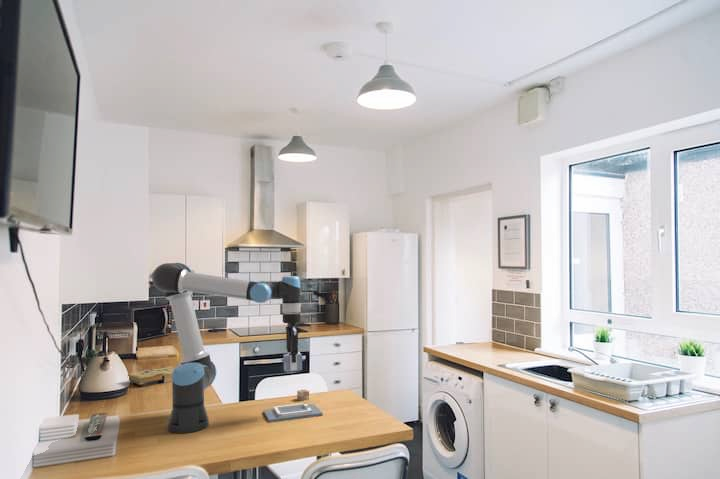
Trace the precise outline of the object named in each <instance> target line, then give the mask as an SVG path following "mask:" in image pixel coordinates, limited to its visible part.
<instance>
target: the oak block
mask: <svg viewBox="0 0 720 479" xmlns="http://www.w3.org/2000/svg"><path fill="white" fill-rule="evenodd" d="M296 391H297V392H296V395H297V396H296V397H297V400H298V401H300V402H305V401H304V400H306V401H310V391H309V390H307V389H300V390H299V389H298V390H296Z"/></svg>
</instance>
